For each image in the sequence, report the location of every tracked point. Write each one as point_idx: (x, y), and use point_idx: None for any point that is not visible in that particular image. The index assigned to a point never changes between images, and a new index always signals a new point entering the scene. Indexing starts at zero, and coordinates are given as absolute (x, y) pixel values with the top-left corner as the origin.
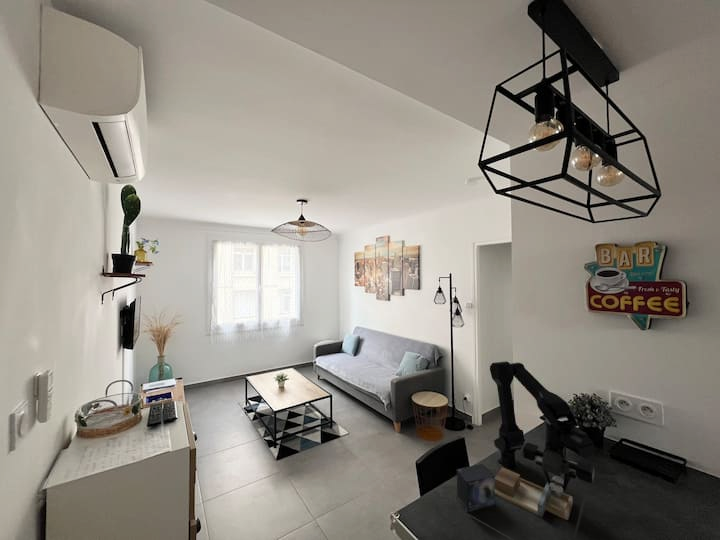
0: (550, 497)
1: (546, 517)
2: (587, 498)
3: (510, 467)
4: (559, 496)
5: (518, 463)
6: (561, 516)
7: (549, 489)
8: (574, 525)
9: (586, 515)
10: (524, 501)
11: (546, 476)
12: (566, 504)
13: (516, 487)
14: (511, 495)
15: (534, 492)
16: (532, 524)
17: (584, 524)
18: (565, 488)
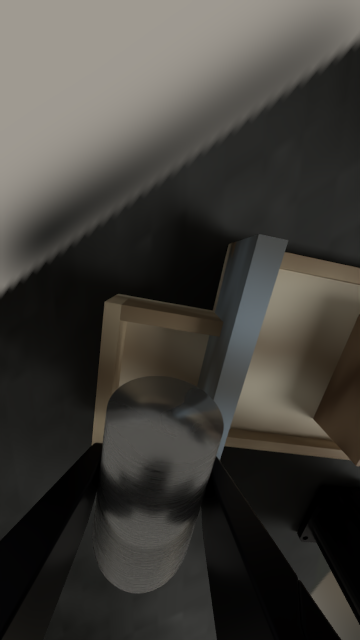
0: None
1: (208, 271)
2: (58, 477)
3: (341, 496)
4: (139, 378)
5: (304, 530)
6: (142, 300)
7: (212, 403)
8: (90, 289)
9: (51, 382)
10: (307, 316)
11: (267, 546)
12: None
13: (352, 378)
14: None
15: (256, 401)
16: (277, 174)
17: (53, 321)
18: (72, 468)
